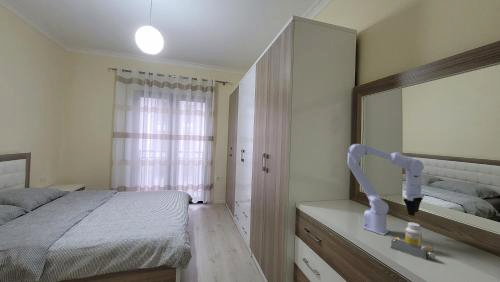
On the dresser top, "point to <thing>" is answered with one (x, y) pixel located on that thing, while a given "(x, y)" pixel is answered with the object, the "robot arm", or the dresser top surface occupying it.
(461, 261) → the dresser top surface
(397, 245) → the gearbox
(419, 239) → the supplement bottle
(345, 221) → the dresser top surface
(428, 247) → the guard rails
